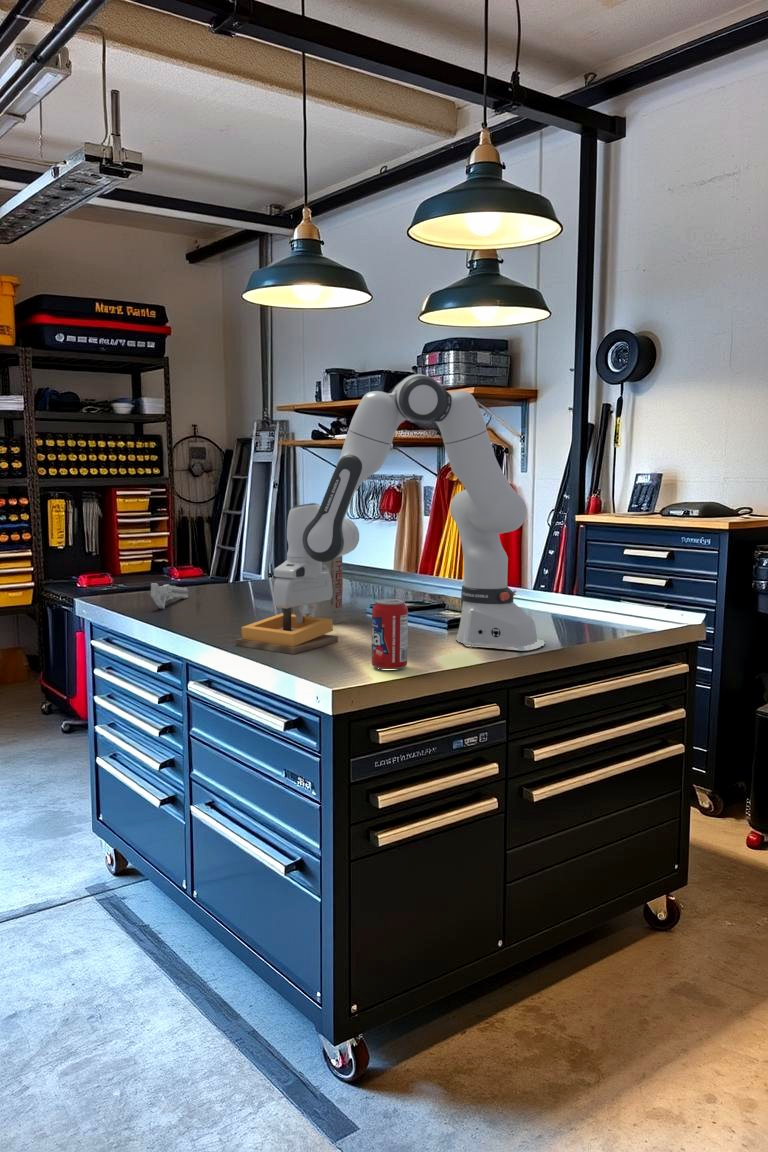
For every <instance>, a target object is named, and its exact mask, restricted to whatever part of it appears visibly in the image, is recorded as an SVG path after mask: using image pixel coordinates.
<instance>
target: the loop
mask: <svg viewBox="0 0 768 1152" xmlns="http://www.w3.org/2000/svg"><path fill="white" fill-rule="evenodd" d="M333 625H334V624H332V619H326V618H318V617H314V616H313V617H310V616H305V622H302V623H297V622H296V615H295V613H294V614H292V613H291V629H293V630H294V631H284V630H278V629H283V612H281V613H279V614H275V615H274V616H273V615H272V616H270V617H267V618H263V619H261V620H258V621H256V622H252V623H250V624H247V625H244V626H241V638H242V639H245V640H252V641H259V642H265V643H272V644H279V645H286V646H293V647H294V646H296V645H299V644H301V643H304V642H306V641H309V640H311V639H314V638H316V637H319V636H321V635H324V634H326V635H327V634H329V633H331V632H333V631H334V630H333V629H334V628H333Z"/></svg>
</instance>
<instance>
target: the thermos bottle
mask: <svg viewBox="0 0 768 1152" xmlns="http://www.w3.org/2000/svg"><path fill="white" fill-rule="evenodd" d="M322 565H326V566H327V567H328V569H329V571H330V575H331V579H332V590H333V595H332V598H331V599H330V600H326V601H321V602H316V609H315V611H314V613H313V617H318V618H326V619H332V625H337V624H341V623H342V622H343V555H342V556H339V557H336V558H334V559H332V560H331V561H328V562H322Z"/></svg>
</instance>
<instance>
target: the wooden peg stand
mask: <svg viewBox="0 0 768 1152" xmlns="http://www.w3.org/2000/svg"><path fill="white" fill-rule="evenodd" d="M274 582H275V580H274ZM282 613H283V627H282V628H279V629H277V630H284V631H294V630H295V629H292V628H291V614H292V608H287V609H284V608H282ZM338 639H339V637H338V635H332V634H327V633H326V634H324V635H321V636H319V637H316V638H314V639H311V640H309V641H306V642H304V643H301V644H299V645H296V646H294V647H293V646H286V645H279V644H272V643H265V642H259V641H252V640H245V639H242V637H240V638H235V646H237V647H244V648H250V649H256V650H257V649H258V650H262V649H263V650H264V651H271V652H275V651H276V653H281V652H282V653H284V654H289V655H290V654H291V655H297V654H299V653H303V652H307V651H310V650H313V649H317V648H321V647H325V646H328V645H332V644H335V643H338V641H339V640H338ZM282 653H281V654H282Z"/></svg>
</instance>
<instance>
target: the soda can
mask: <svg viewBox="0 0 768 1152" xmlns="http://www.w3.org/2000/svg"><path fill="white" fill-rule="evenodd" d="M374 602H375V603H374V605H373V606H372V608H371V665H372V666H373V667H374V668H376V669H377V668H379V669H400V668H402V669H404V668H406V666H407V665H408V637H409V636H408V634H409V633H408V629H409V627H408V626H409V622H408V621H409V613H408V612H409V609H408V606H407V605H406V604H405V603H406V602H405V600H403V599H396V598H382V599H377V600H375V601H374ZM403 667H404V668H403ZM379 669H378V670H379ZM400 670H401V669H400Z"/></svg>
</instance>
